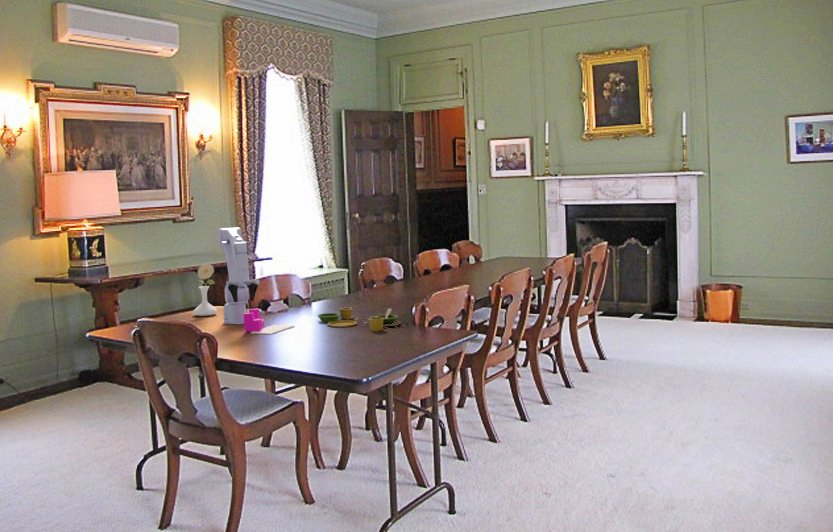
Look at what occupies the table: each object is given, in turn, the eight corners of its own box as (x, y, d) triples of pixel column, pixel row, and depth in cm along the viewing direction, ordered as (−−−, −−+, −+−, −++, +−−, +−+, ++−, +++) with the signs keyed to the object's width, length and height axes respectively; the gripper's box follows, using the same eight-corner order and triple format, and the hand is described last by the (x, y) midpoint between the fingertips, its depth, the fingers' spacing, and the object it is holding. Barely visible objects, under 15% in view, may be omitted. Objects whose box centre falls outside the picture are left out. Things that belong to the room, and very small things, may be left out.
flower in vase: (187, 316, 386) (185, 264, 383) (206, 312, 395) (203, 261, 392) (206, 318, 378) (204, 265, 376) (225, 314, 388) (222, 262, 385)
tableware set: (413, 328, 344) (413, 313, 344) (355, 336, 329) (355, 320, 329) (365, 315, 379) (365, 302, 378) (311, 322, 364) (310, 308, 363)
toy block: (260, 330, 340) (258, 313, 339) (245, 331, 340) (243, 314, 339) (266, 325, 355) (264, 308, 354) (251, 326, 355) (250, 309, 354)
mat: (250, 333, 338) (250, 332, 338) (274, 325, 355) (274, 324, 355) (271, 334, 334) (271, 333, 334) (294, 326, 351) (294, 325, 351)
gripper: (222, 271, 345) (224, 303, 346) (253, 269, 342) (255, 301, 342) (229, 270, 352) (231, 301, 352) (260, 268, 349) (262, 300, 349)
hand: (244, 301), depth 348 cm, fingers open, 7 cm apart
